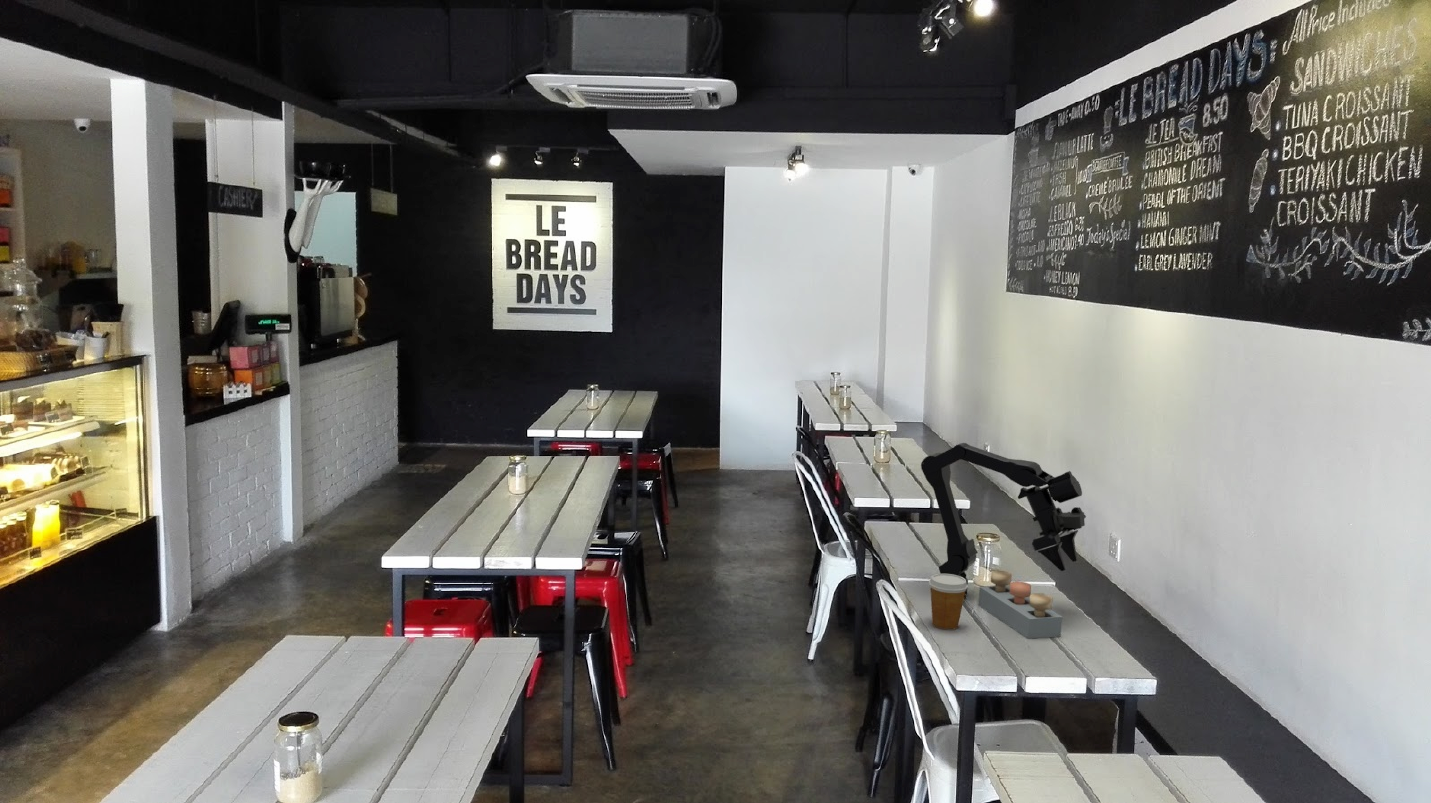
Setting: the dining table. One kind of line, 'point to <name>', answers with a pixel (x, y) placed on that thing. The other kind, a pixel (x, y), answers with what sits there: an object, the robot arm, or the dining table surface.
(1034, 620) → the grey peg holder block
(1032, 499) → the robot arm
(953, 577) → the disposable coffee cup
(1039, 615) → the knob
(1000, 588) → the knob
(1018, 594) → the knob middle
